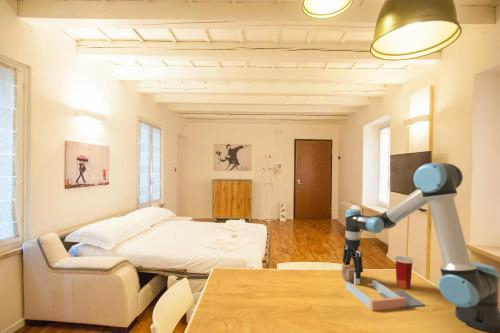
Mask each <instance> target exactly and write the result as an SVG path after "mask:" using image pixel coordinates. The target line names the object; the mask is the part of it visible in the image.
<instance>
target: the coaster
mask: <svg viewBox="0 0 500 333" xmlns="http://www.w3.org/2000/svg"><path fill="white" fill-rule="evenodd" d="M393 292H394V293H395V294H397V295H399V296H400V297H405V298H406V306H403V308H402V307H399V308H398V309H405V308H416V307H417V308H418V307H424V306H425V303H423V302H421V301H420V300H418V299H417V298H415V297H413V296H411V295H410V294H409V293H407V292H406V291H404V290H403V291H393ZM379 296H381V297H382V298H383V299H385V298H389V297H388V296H386V295H385V294H384V293H380V292H379Z"/></svg>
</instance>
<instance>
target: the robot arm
mask: <svg viewBox="0 0 500 333" xmlns="http://www.w3.org/2000/svg"><path fill="white" fill-rule="evenodd" d="M463 180H464V176H463V172H462V171H461V169H460V168H459V167H458V166H456V165H455V164H452V163H446V162H445V163H437V162H429V163H425V164H422V165H421V166H419V167H418V168H417V169H416V170H415V172H414V174H413V183H414V186H415V187H416V189H415V190H414V191H413V192H411V193H410V194H408V195H407V196H405V197H404V198H402V199H401V200H400V201H398V202H396V204H394V205H393V206H392V207H389V208H388V209H387V210H386V211H384V212H383V213H381V214H376V215H375V214H374V215H364V214H362V212H361V210H360V209H357V208H348V209H346V210H345V216H344V218H345V231H344V232H345V233H344V235H345V238H344V240H345V242H344V245H343V254H342V255H343V256H342V262H343V263H344V265H351V260H352V261H353V265H354V267H355V271H354V283H353V285H354V286H357V285H360V284H361V282H360V272H361V273H364V268H363V266H364V265H363V253H362V252H360V251H359V248H360V247H361V239H360V238H361V230H362V231H366V232H369V233H373V234H374V233H375V234H379V233H381V232H382V231H383V230H387V229H388V230H389V229H392V228H394V227H396V226H397V224H398V223H400V222H401V221H402V220H404V219H405V218H407V217H408V216H410V215H412V214H413V213H415V212H416V211H418V210H419V209H422V208H423V207H425V205H427V204H428V206H429V210H430V213H431V217H432V222H433V225H434V226H433V227H434V229H435V234H436V238H437V241H438V242H437V243H438V246H439V251H440V254H441V257H442V261H443V263H441V265H440V266H439V269H440V272H441V278H440V279H439V281H438V289H439V291H440V293H441V295H442V297H443V298H445V299H446V300H447V301H448V302H449V303H451V304H452V305H454V306H456V307H455V309H454V311H455V312H454V313H455V314H454V315H455V317H456V318H457V319H458V321H459V320H460V321H461V322H462V323H464V324H466V325H467V326H469V327H472V328H474V329H477V330H480V331H484V332H491V333H498V332H500V309H499V308H500V307H499V279H500V276H499V270H498V269H497V268H496V267H495V266H492V265H488V264H485V263H481V262H477V261H471V258H470V255H469V251H468V247H467V243H466V240H465V237H464V232H463V228H462V225H461V220H460V217H459V213H458V210H457V206H456V202H455V198H456V197H457V195H458V191H457V189H458V188H459V187H460V186H461V184H462V183H463Z"/></svg>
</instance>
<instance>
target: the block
mask: <svg viewBox="0 0 500 333" xmlns="http://www.w3.org/2000/svg"><path fill="white" fill-rule="evenodd" d="M354 271H355V267H354V264H348V265H345V264H344V265H341V279H342V280H344V281H345V283H347V282H350V283H351V284H354ZM361 274H362V272H360V283H361V282H362V279H361V277H362V276H361Z"/></svg>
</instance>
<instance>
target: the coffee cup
mask: <svg viewBox="0 0 500 333" xmlns="http://www.w3.org/2000/svg"><path fill="white" fill-rule="evenodd" d="M394 261H395V278H396V287H397V288H399V289H402V290H410V289H411V285H412V272H413V263H414V261H413V258H412V257H410V256H407V255H396V256H395V257H394Z"/></svg>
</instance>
